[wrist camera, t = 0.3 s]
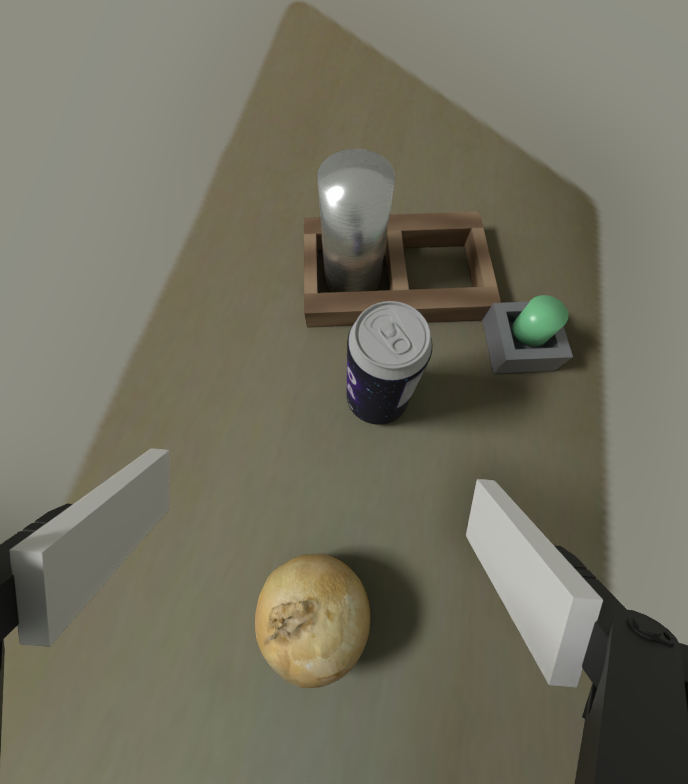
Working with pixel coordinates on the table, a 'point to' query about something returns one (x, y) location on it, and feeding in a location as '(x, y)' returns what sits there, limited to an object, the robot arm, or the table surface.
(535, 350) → the button housing
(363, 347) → the beverage can
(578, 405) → the table surface
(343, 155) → the frosted drinking glass
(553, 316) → the button
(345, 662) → the onion
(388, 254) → the glass rack
